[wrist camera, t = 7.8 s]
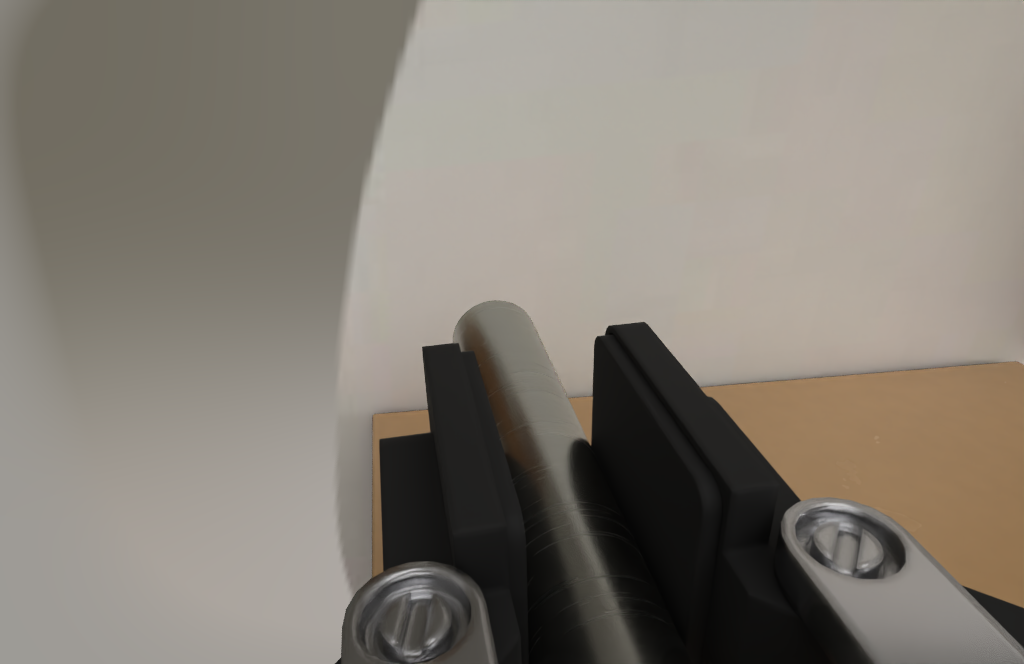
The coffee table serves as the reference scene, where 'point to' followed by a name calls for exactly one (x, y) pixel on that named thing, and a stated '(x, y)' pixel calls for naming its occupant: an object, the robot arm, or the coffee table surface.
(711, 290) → the coffee table surface
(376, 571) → the wooden cabinet door
